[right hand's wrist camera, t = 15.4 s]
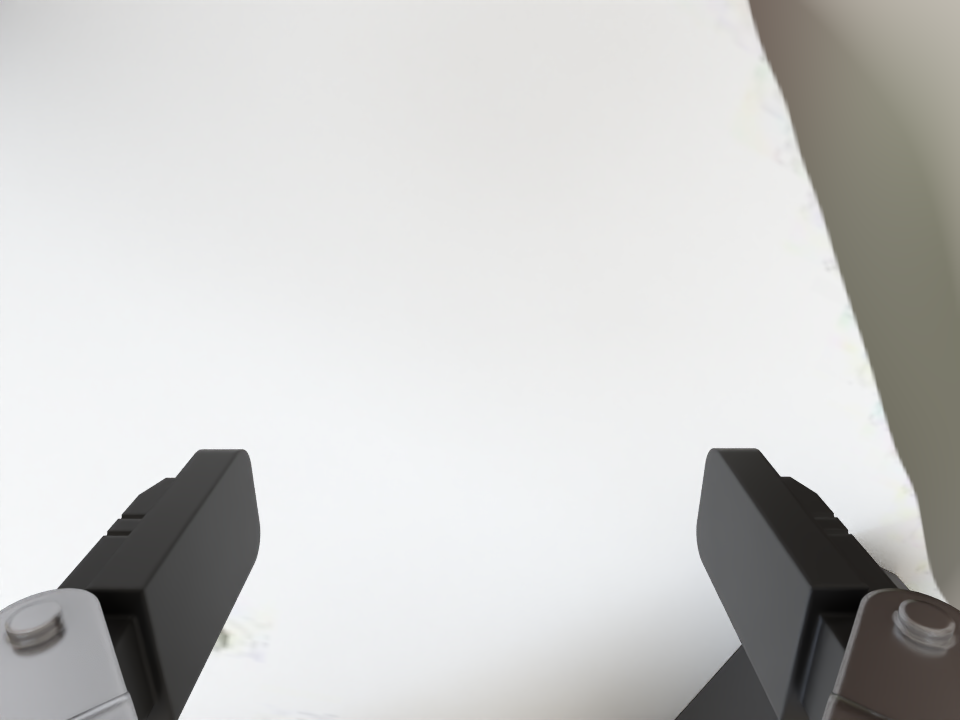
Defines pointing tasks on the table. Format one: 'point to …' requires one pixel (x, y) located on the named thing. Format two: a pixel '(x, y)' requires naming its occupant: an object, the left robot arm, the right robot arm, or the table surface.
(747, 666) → the box
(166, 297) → the table surface
